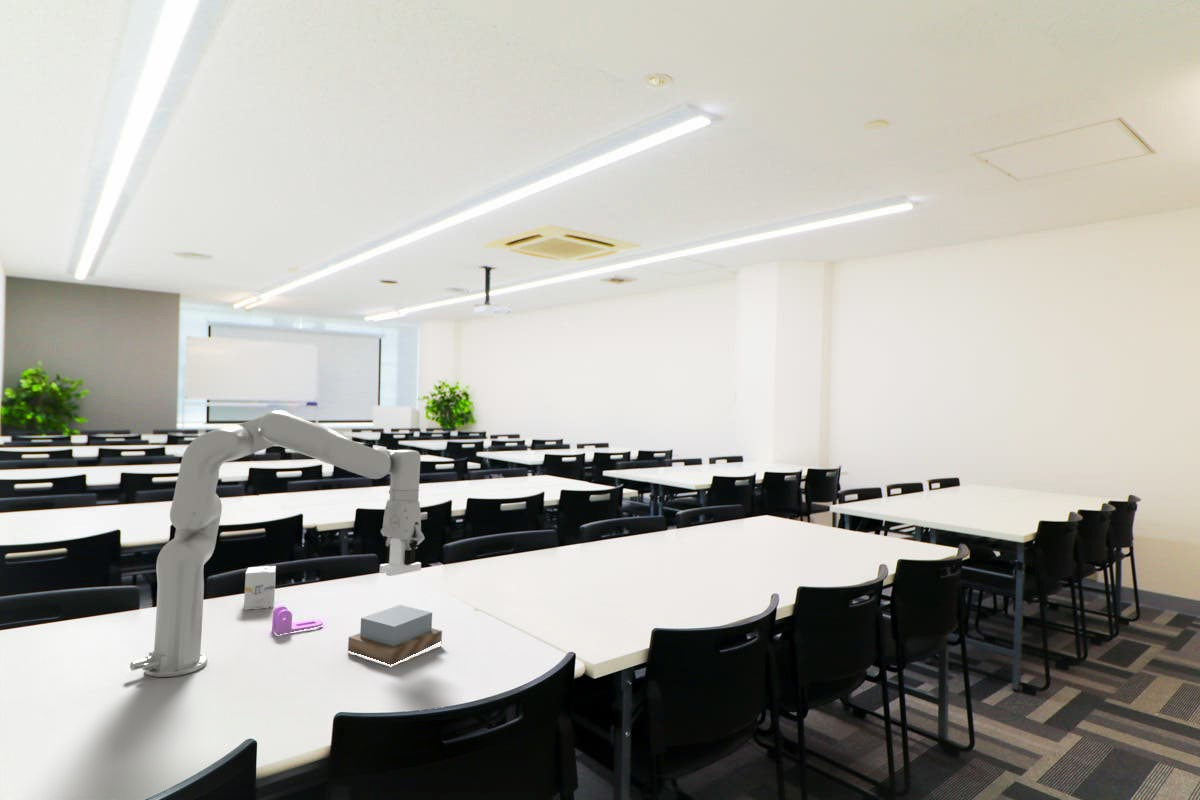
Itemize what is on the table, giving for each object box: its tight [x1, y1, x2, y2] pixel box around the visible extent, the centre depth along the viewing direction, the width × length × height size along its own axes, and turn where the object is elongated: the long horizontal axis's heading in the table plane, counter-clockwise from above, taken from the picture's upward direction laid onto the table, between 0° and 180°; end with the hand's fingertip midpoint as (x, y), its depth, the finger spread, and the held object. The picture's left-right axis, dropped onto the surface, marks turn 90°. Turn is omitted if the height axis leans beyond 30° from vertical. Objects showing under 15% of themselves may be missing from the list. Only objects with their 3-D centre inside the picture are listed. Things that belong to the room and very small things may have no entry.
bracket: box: [271, 605, 324, 635], centre depth 185 cm, size 13×6×7 cm, turn 130°
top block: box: [360, 604, 433, 646], centre depth 172 cm, size 14×12×5 cm
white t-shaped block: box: [379, 538, 422, 577], centre depth 172 cm, size 5×10×10 cm, turn 141°
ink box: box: [243, 565, 277, 611], centre depth 204 cm, size 9×8×12 cm
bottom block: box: [347, 627, 443, 665], centre depth 172 cm, size 18×16×5 cm
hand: (400, 561), depth 172 cm, fingers closed on white t-shaped block, 5 cm apart
